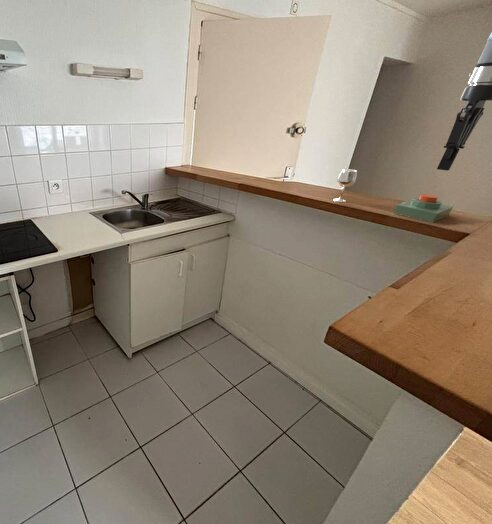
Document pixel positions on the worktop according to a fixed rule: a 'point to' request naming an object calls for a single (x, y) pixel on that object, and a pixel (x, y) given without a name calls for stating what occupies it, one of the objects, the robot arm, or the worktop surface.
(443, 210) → the green button base
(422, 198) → the release button
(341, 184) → the wineglass
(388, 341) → the worktop surface
